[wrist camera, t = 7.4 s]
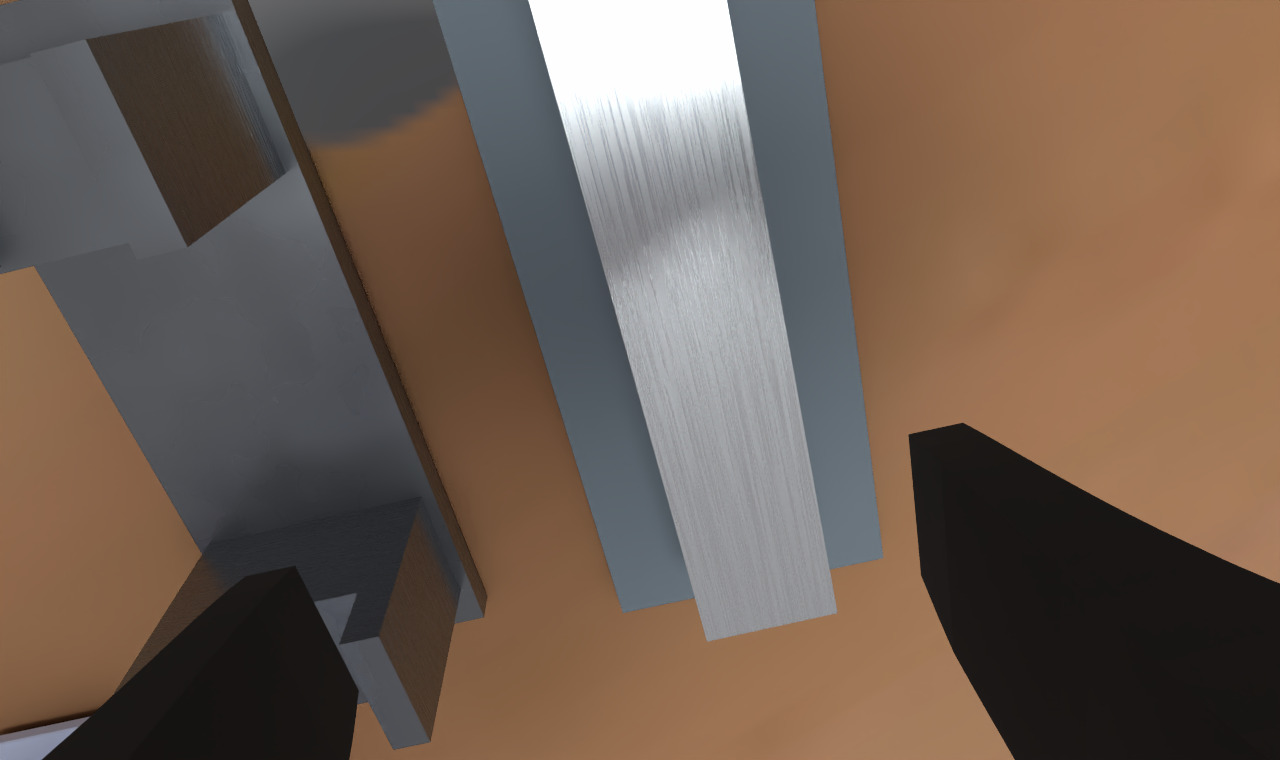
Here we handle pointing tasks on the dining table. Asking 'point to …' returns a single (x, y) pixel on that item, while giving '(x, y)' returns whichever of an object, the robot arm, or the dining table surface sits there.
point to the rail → (694, 294)
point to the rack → (230, 326)
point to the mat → (581, 301)
